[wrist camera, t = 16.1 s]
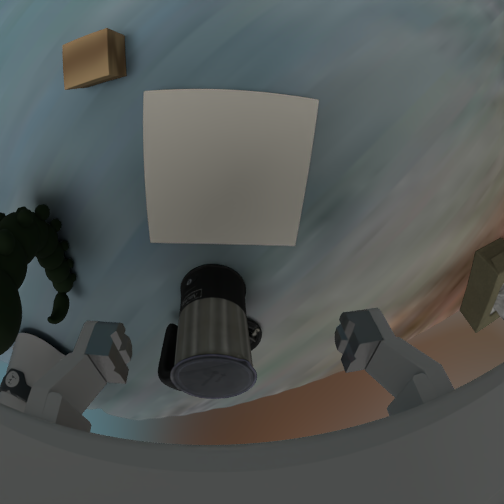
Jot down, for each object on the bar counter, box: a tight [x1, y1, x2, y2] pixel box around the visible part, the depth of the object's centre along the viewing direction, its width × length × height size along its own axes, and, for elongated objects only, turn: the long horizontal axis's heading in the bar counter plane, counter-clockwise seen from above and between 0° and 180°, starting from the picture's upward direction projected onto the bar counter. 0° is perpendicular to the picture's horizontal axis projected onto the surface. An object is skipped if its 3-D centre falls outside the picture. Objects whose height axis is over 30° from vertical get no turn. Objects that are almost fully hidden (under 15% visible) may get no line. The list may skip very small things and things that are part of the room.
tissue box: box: [460, 238, 504, 333], centre depth 38 cm, size 19×10×16 cm, turn 18°
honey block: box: [63, 28, 127, 90], centre depth 18 cm, size 5×5×5 cm
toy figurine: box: [0, 204, 76, 355], centre depth 21 cm, size 9×19×25 cm, turn 176°
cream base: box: [143, 89, 319, 246], centre depth 27 cm, size 16×16×4 cm
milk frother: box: [158, 264, 262, 399], centre depth 34 cm, size 14×16×15 cm
